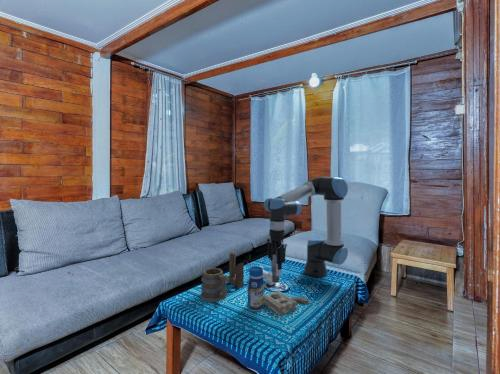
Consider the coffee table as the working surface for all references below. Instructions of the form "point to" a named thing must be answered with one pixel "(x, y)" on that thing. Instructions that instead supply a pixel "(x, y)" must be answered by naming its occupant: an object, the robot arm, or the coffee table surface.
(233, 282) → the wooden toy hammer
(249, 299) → the beverage bottle
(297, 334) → the coffee table surface
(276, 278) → the peg
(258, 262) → the coffee table surface
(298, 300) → the walnut slat
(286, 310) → the socket block
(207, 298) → the tankard
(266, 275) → the bone shaped toy
